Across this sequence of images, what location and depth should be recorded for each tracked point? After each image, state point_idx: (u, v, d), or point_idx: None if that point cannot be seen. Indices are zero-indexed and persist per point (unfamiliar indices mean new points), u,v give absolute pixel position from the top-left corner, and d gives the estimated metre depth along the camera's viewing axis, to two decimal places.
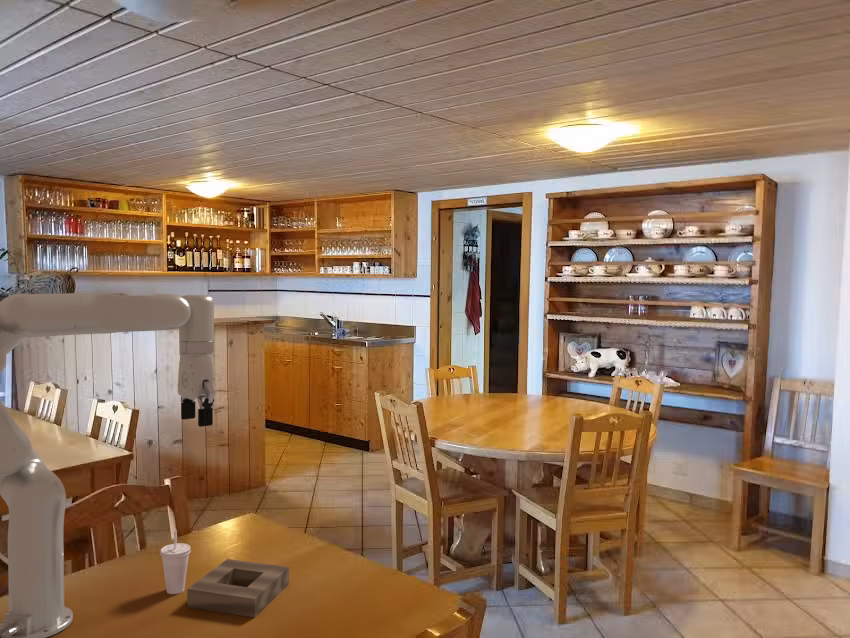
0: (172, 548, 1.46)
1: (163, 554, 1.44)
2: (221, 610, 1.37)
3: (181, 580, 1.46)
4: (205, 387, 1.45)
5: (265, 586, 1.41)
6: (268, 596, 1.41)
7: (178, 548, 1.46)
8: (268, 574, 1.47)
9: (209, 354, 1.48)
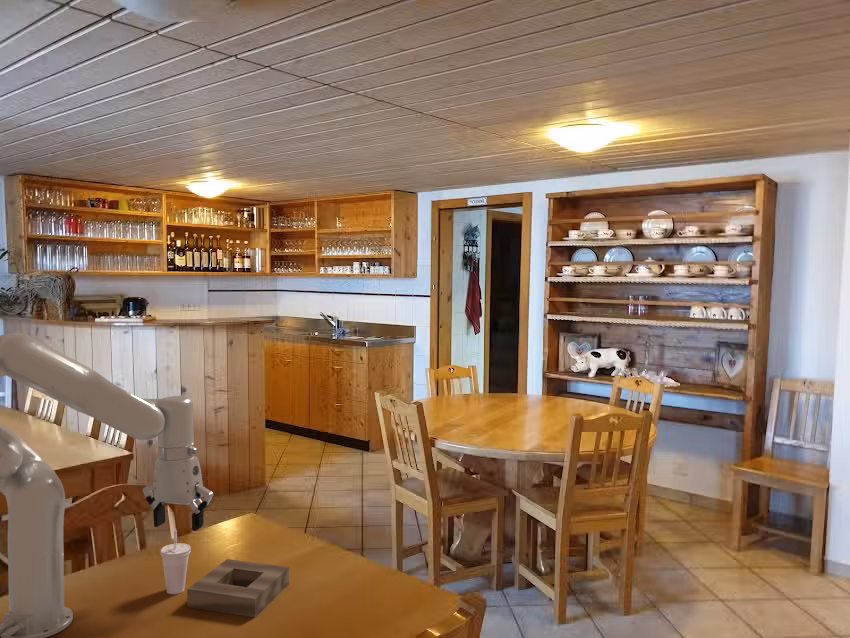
0: (172, 548, 1.46)
1: (163, 554, 1.44)
2: (221, 610, 1.37)
3: (181, 580, 1.46)
4: None
5: (265, 586, 1.41)
6: (268, 596, 1.41)
7: (178, 548, 1.46)
8: (268, 574, 1.47)
9: None
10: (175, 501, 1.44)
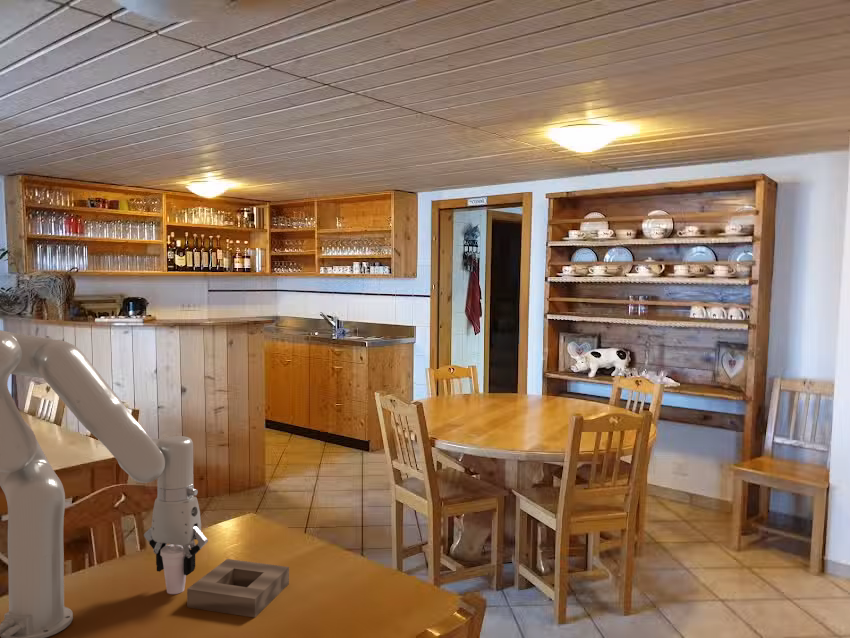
0: (172, 548, 1.46)
1: (163, 554, 1.44)
2: (221, 610, 1.37)
3: (181, 580, 1.46)
4: None
5: (265, 586, 1.41)
6: (268, 596, 1.41)
7: (178, 548, 1.46)
8: (268, 574, 1.47)
9: None
10: (173, 542, 1.44)
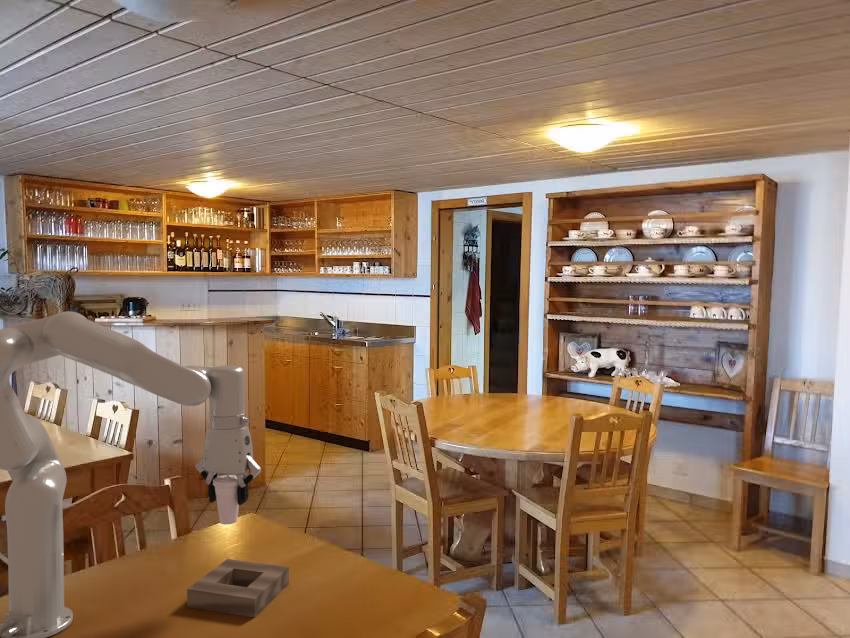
0: (224, 478, 1.44)
1: (216, 483, 1.42)
2: (221, 610, 1.37)
3: (234, 510, 1.44)
4: None
5: (265, 586, 1.41)
6: (268, 596, 1.41)
7: (230, 478, 1.44)
8: (268, 574, 1.47)
9: (209, 427, 1.43)
10: (226, 471, 1.42)
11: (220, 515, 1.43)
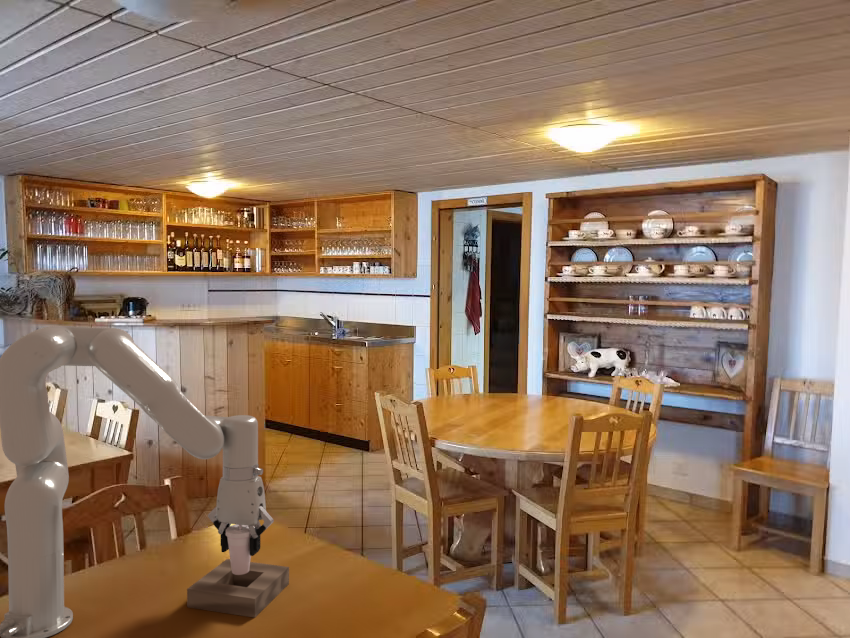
0: (237, 528, 1.44)
1: (229, 534, 1.42)
2: (221, 610, 1.37)
3: (247, 560, 1.44)
4: None
5: (265, 586, 1.41)
6: (268, 596, 1.41)
7: (243, 528, 1.44)
8: (268, 574, 1.47)
9: (222, 477, 1.43)
10: (239, 522, 1.42)
11: (232, 565, 1.43)
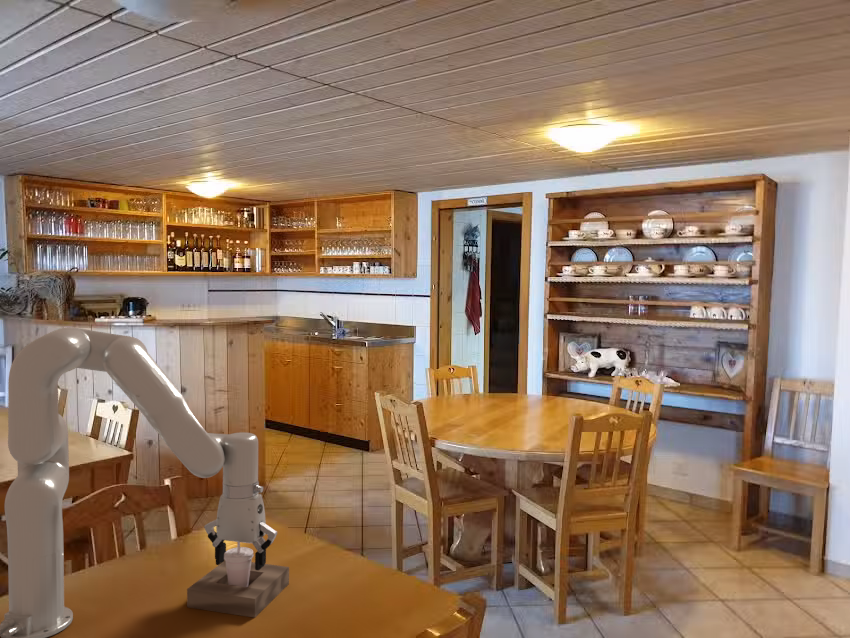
0: (235, 552, 1.44)
1: (227, 558, 1.42)
2: (221, 610, 1.37)
3: (245, 584, 1.44)
4: None
5: (265, 586, 1.41)
6: (268, 596, 1.41)
7: (241, 552, 1.44)
8: (268, 574, 1.47)
9: (223, 495, 1.43)
10: (239, 539, 1.42)
11: None
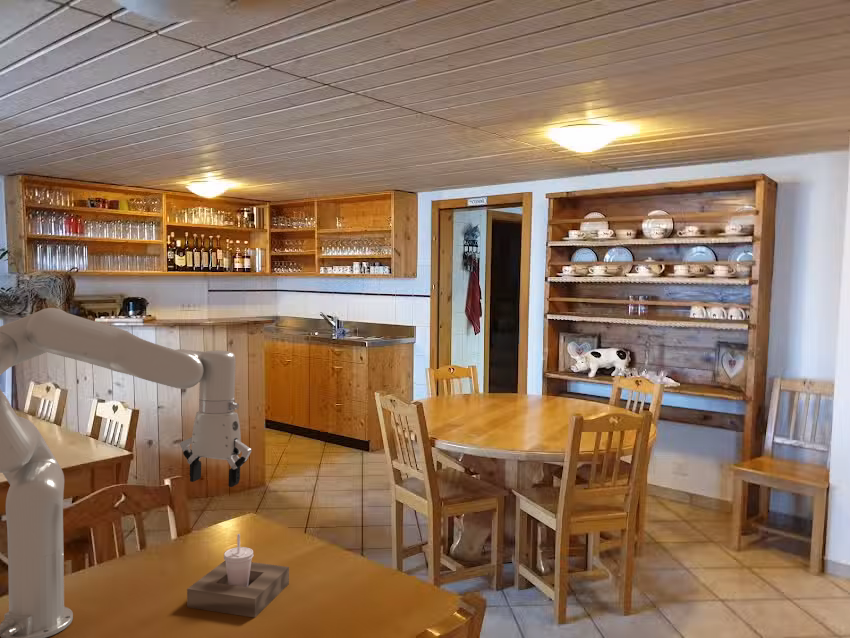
0: (235, 552, 1.44)
1: (227, 558, 1.42)
2: (221, 610, 1.37)
3: (245, 584, 1.44)
4: None
5: (265, 586, 1.41)
6: (268, 596, 1.41)
7: (241, 552, 1.45)
8: (268, 574, 1.47)
9: None
10: (213, 455, 1.43)
11: None
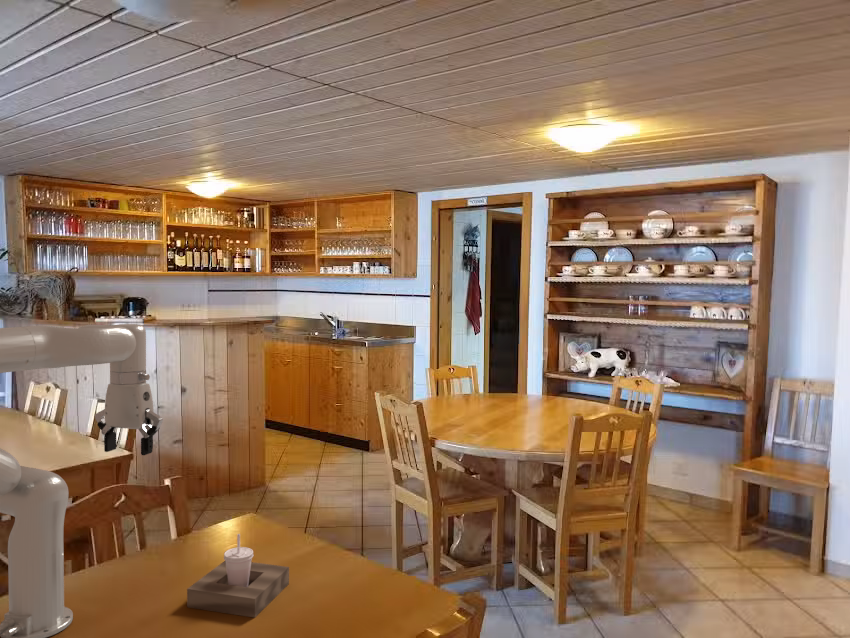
0: (235, 552, 1.44)
1: (227, 558, 1.42)
2: (221, 610, 1.37)
3: (245, 584, 1.44)
4: None
5: (265, 586, 1.41)
6: (268, 596, 1.41)
7: (241, 552, 1.45)
8: (268, 574, 1.47)
9: None
10: (125, 425, 1.47)
11: None
